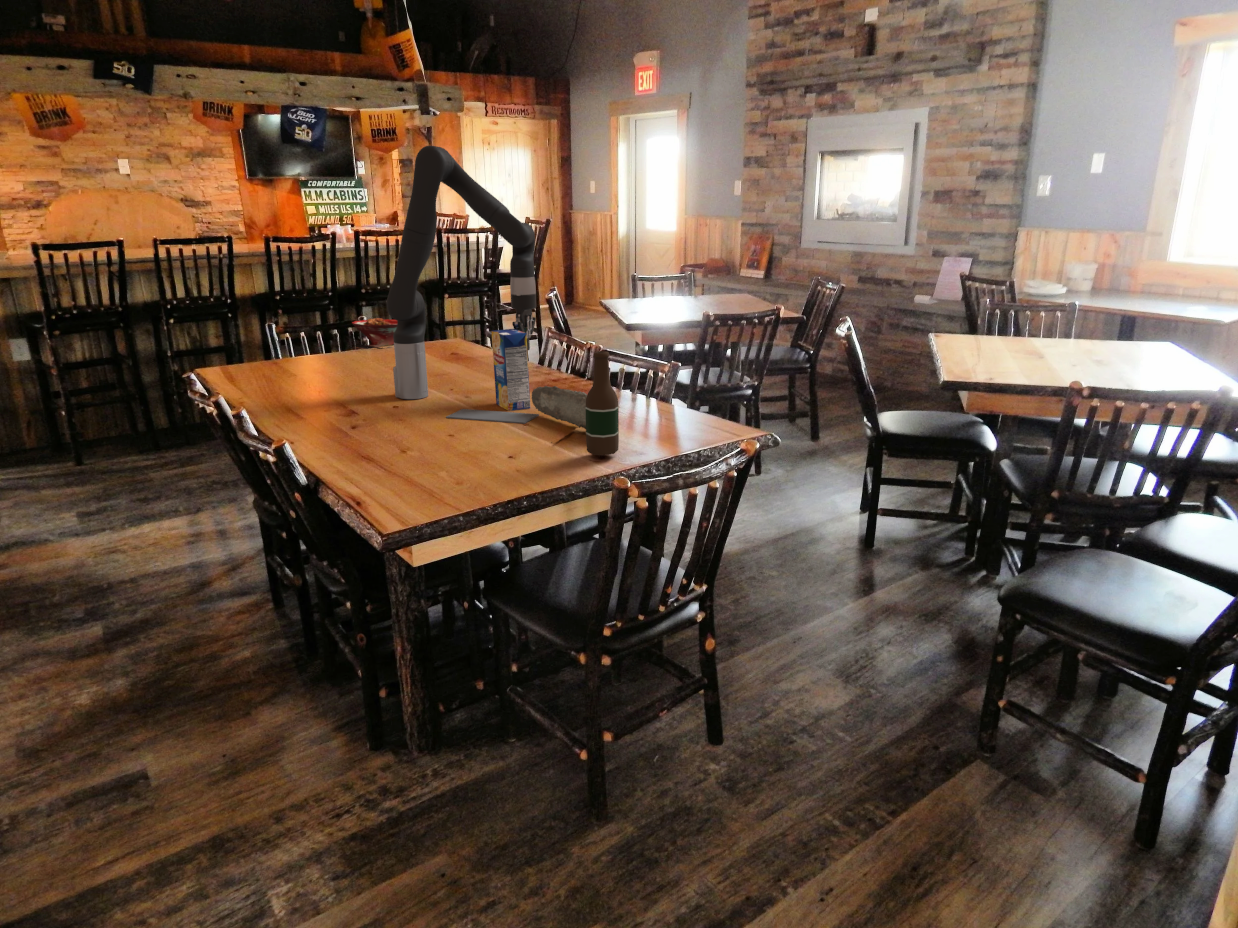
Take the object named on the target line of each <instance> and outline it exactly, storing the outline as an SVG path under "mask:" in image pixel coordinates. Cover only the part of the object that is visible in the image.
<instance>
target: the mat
mask: <svg viewBox="0 0 1238 928" xmlns="http://www.w3.org/2000/svg"><path fill="white" fill-rule="evenodd" d="M539 416H540V414H539V413H529V412H526V413H525V412H514V411H498V410H497V411H496V410H484V409H472V408H461V409H459V410H456V411H455V412H453V413H451V414H449V415H446V416H445V418H446V419H455V420H470V421H483V422H496V423H497V422H498V423H511V424H522V425H525V424H527V423H529V422H530V421H532V420H534V419H536V418H537V417H539Z"/></svg>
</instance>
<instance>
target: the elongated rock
mask: <svg viewBox="0 0 1238 928" xmlns="http://www.w3.org/2000/svg"><path fill="white" fill-rule="evenodd" d="M587 395H588V393H586V392H584V391H581V390H580V391H577V390H571V389H566V388H560V387H558V386H557V385H554V386H547V385H545V386H544V385H543V386H538V387H535V388H534V389H532V392H531V402H532V404H533V406H534V407H535V409H536V410H537V411H538V412H540V413H543V414H544V415H547V416H549V417H551V418H553V419H556V420H559V421H561V422H567V423H569V424H571V425H575V426H576V427H578V428H579V429H580V428H582V429H585V430H586V398H587Z"/></svg>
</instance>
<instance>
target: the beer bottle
mask: <svg viewBox="0 0 1238 928" xmlns="http://www.w3.org/2000/svg"><path fill="white" fill-rule="evenodd" d="M592 356H593V358H594V362H593V381H592V386H591V388H590V389H589V390H588V392H587V398H586V429H585V435H586V436H585V440H586V441H585V442H586V443H585V446H586V451H587V452H588V453H589V454H591V455H593V456H594V455H596V456H609V455H614V454H616V453H617V452H618V451H619V444H620V443H619V441H620V440H619V439H620V437H619V435H620V434H619V432H620V431H619V427H620V426H619V424H620V423H619V419H620V418H619V398H618V395H617V393H616V391H615V390H614V388H613V386H612V384H611V378H610V363H609V358H610V352H609V351H607V350H606V351H605V350H597V351H594V352H593V355H592Z"/></svg>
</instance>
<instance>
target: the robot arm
mask: <svg viewBox="0 0 1238 928" xmlns="http://www.w3.org/2000/svg"><path fill="white" fill-rule="evenodd" d="M441 184H444V185H445V186H447V187H449V188H450V189H451V190H453V191H454V192H455V193H456V194H458V195H459V196H460V197H461V199H463V201H464V202H465V203H466V204H467V206H469V207H470V209H471V210H472V211H473V212H474V213H475V214H476V215H477V216H479V217H480V218H481V219H482V220H483V221H485V222H486V223H487V224H488V225H489V226H491V227H492V228H494V229H495V231H496V232H497V233H498V234H499V235H500V236H501V237H502V238H503V239H504V240H505V242H507V243H508V244H509V245H511V246H512V247H511V248H512V252H511V253H512V257H511V259H510V263H509V266H510V268H509V269H510V270H509V271H510V285H509V286H510V287H509V288H510V289H509V290H510V307H511V309H512V310H515V321H512V327H513V329H516V330H518V331H521V332H524V333H526V337H527V352H528V351H530V349H531V346H530V338H531V335H533V334H534V329H535V325H536V321H537V319H536V318H537V317H535V316H533V310H534V309H537V290H536V289H537V288H536V277H535V263H534V260H535V247H536V236H535V235H536V234H535V230H534V229H533V227H532V226H531V225H530V224H528V223H526V222H522V221H520V220H519V219H517V217H515V216H514V215H513V214H512V213H511V212H510V209H509V208H508V207H507V206H505V205H504V204H503V202H501V201H500V200H499V199H497V198H496V197H495V196H494V195H492V193H491V192H489V191H488V190H486V189H485V188H484V187H483V186H482V185H480V184H479V182H477V181H476V180H475V179H474V178H473V177H471V176H470V174H468V173H467V172H466V171H465V170H464V168H462V167H461V165H460V164H459V163H458V162H457V160H456V159H455V158H454V157H453V156H452V155H451V154H450V153H449V151H448V150H447V149H445V148H443V147H441V146H435V145H426V146H424V147H422V148H420V149H419V151H418V152H417V154H416V156H415V159H414V169H413V181H412V188H411V189H412V190H411V196H410V198H409V203H408V208H407V212H406V218H405V222H404V225H403V231H402V235H401V241H400V247H399V252H398V257H397V263H396V268H395V272H394V276H393V278H392V283H391V286H390V289H389V292H388V295H387V299H386V310H387V313H388V315H389V316H390V317H391V318H392V320H397V328H396V330H395V332H394V334H393V340H394V344H393V350H394V359H395V362H394V364H395V365H394V366H393V369H392V371H393V372H392V373H393V383H394V392H395V393H394V395H395V396H394V397H395V398H398V399H402V400H418V399H425V398H427V397H429V387H428V372H427V371H428V370H427V360H426V357H427V356H426V345H425V334H426V330H427V329H426V328H427V327H426V326H427V324H426V323H427V321H426V320H427V319H426V318H427V317H426V304H425V300H424V297H423V295H422V293H421V292H419V291H418V290H417V289H418V288H417V287H418V283H419V280H420V276H421V274H422V272H423V271H424V268H425V267H426V265H427V263H428V261H429V259H430V256H431V254H432V251H433V247H434V245H435V244H434V243H435V240H436V235H437V228H438V227H437V226H438V225H437V224H438V223H437V222H438V221H437V220H438V219H437V215H438V214H437V197H438V192H439V189H440V185H441Z"/></svg>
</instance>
